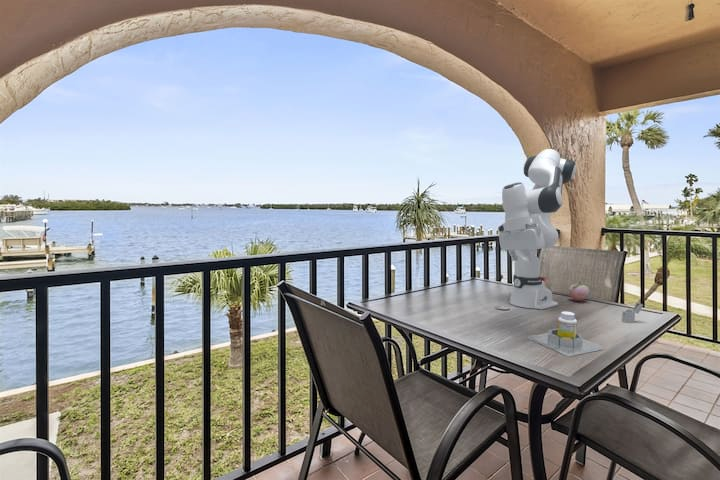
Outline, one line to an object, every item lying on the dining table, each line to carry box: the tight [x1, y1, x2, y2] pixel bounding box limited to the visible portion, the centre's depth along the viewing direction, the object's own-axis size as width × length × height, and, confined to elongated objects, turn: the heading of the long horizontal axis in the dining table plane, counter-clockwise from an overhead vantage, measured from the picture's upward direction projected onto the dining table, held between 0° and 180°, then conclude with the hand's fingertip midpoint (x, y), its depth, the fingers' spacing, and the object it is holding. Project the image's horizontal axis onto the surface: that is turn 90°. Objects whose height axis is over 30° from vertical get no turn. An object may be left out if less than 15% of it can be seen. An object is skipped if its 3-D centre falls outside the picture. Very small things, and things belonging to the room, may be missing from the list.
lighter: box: [621, 302, 644, 324], centre depth 144 cm, size 7×2×8 cm, turn 91°
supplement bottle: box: [557, 311, 578, 339], centre depth 120 cm, size 6×6×10 cm
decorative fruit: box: [568, 281, 590, 302], centre depth 175 cm, size 9×8×10 cm
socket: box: [527, 328, 604, 358], centre depth 121 cm, size 16×16×4 cm
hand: (523, 261), depth 134 cm, fingers open, 8 cm apart
